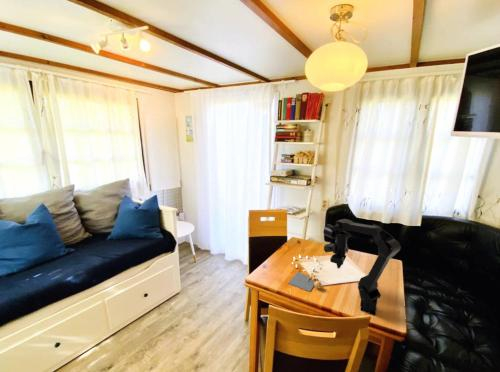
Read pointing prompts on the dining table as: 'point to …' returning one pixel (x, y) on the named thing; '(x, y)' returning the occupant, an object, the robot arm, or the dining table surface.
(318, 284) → the figurine
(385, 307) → the dining table surface
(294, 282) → the mat
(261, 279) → the dining table surface
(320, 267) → the game piece set
